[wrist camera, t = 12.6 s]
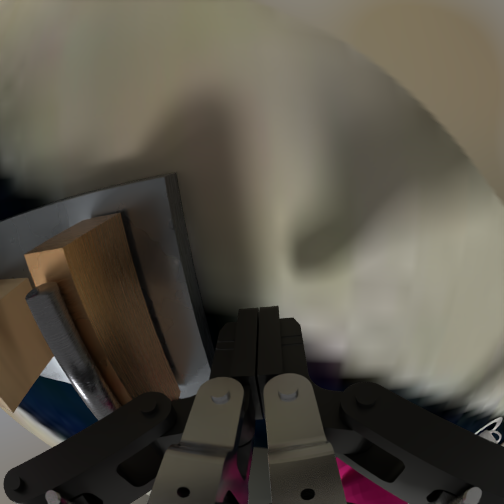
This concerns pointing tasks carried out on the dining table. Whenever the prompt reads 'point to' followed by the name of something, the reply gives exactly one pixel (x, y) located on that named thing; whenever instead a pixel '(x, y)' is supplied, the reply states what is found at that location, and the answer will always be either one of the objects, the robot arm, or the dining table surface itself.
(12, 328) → the oak block
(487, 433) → the white looped part
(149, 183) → the vise base
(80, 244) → the sliding jaw
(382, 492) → the pepper mill
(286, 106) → the dining table surface
